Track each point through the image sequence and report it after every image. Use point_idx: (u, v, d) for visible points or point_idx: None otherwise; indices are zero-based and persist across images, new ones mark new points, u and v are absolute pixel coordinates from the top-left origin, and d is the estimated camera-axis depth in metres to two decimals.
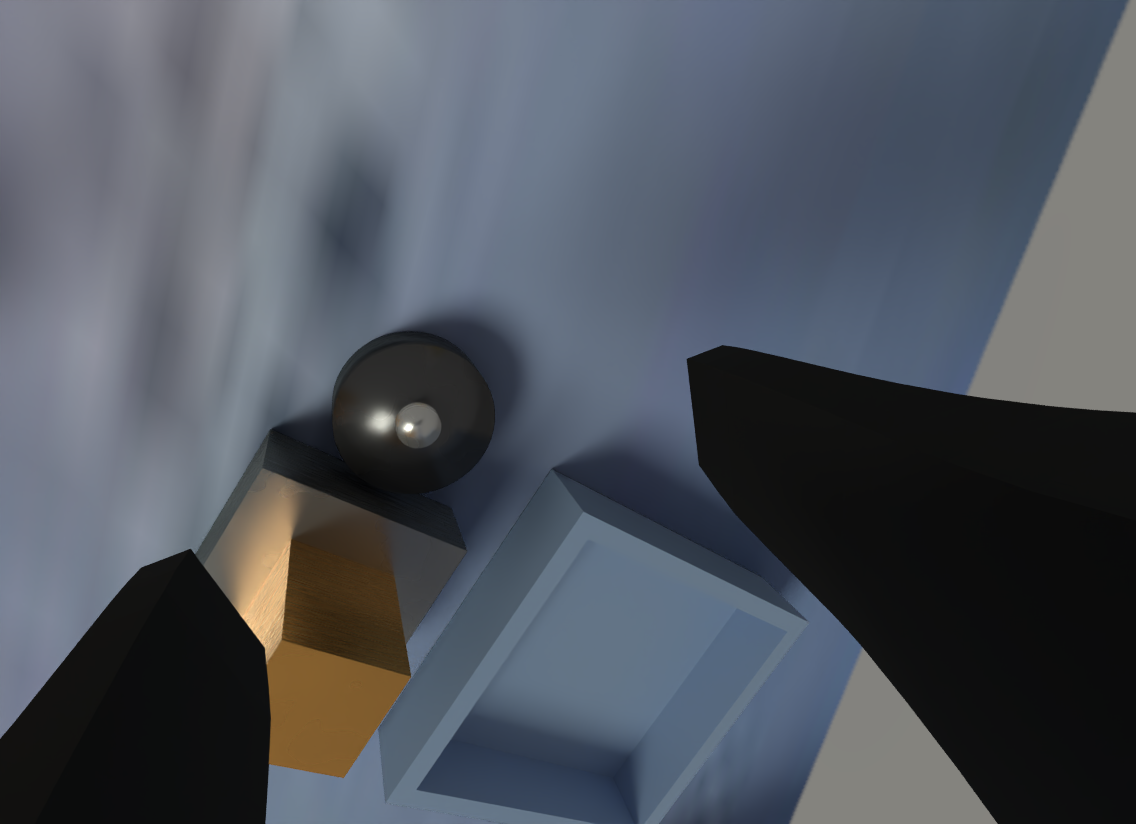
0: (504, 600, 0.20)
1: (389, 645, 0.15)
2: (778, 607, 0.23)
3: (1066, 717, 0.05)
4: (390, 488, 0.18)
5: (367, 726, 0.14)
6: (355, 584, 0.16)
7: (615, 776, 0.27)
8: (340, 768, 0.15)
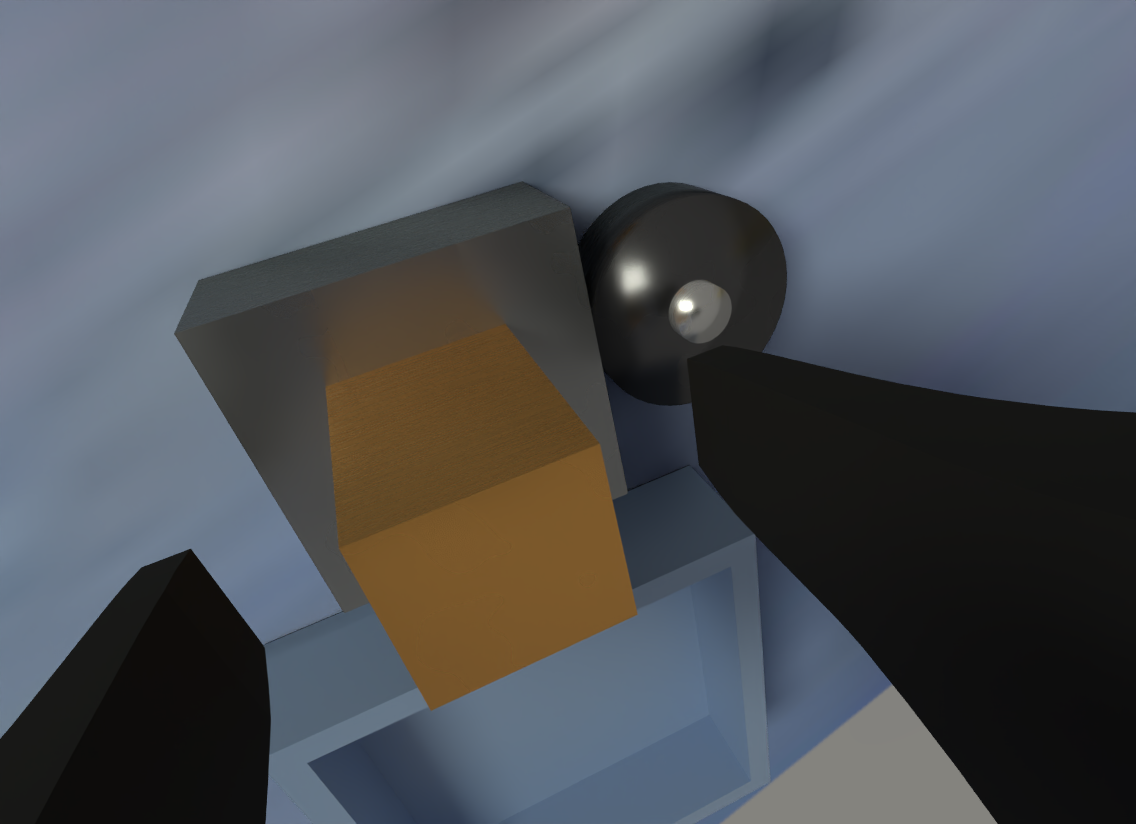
0: None
1: None
2: (767, 750, 0.20)
3: (1067, 717, 0.05)
4: (606, 358, 0.13)
5: (530, 651, 0.08)
6: None
7: None
8: (443, 693, 0.08)
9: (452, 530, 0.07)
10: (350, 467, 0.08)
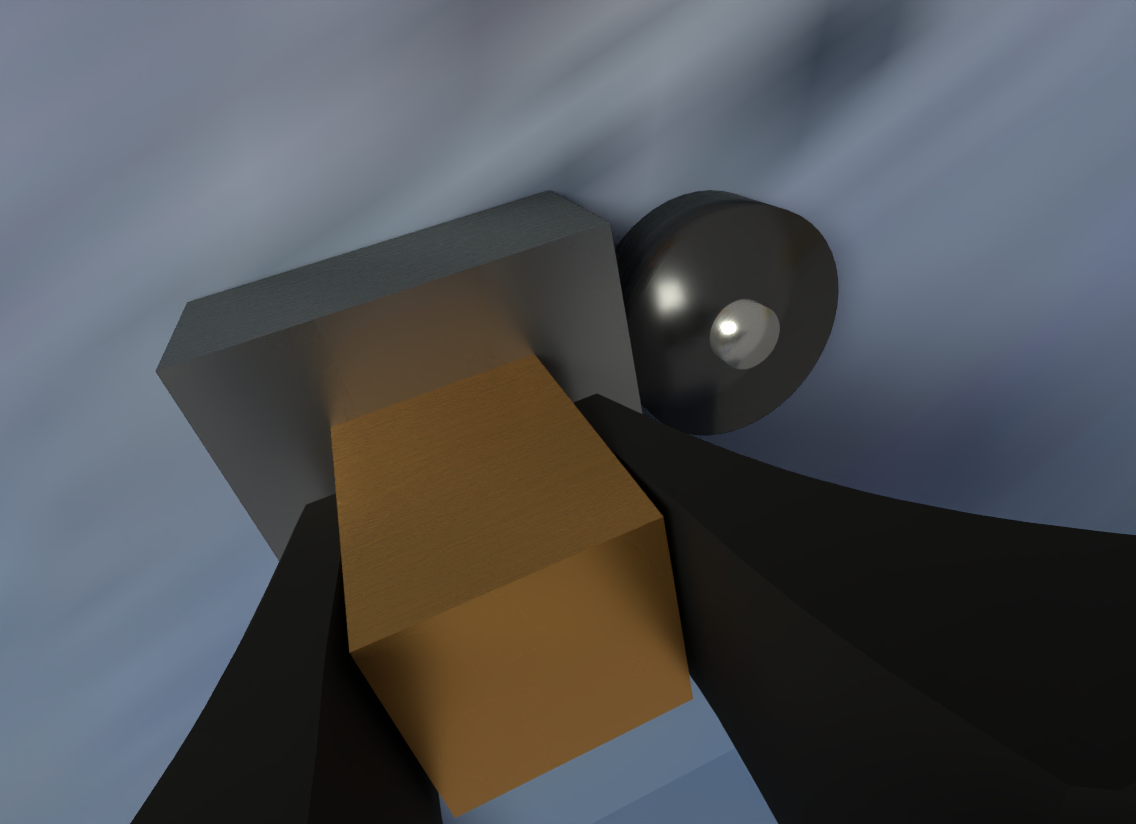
0: None
1: None
2: None
3: None
4: (640, 386, 0.11)
5: (571, 746, 0.07)
6: None
7: None
8: (470, 798, 0.07)
9: (485, 623, 0.06)
10: (361, 536, 0.07)
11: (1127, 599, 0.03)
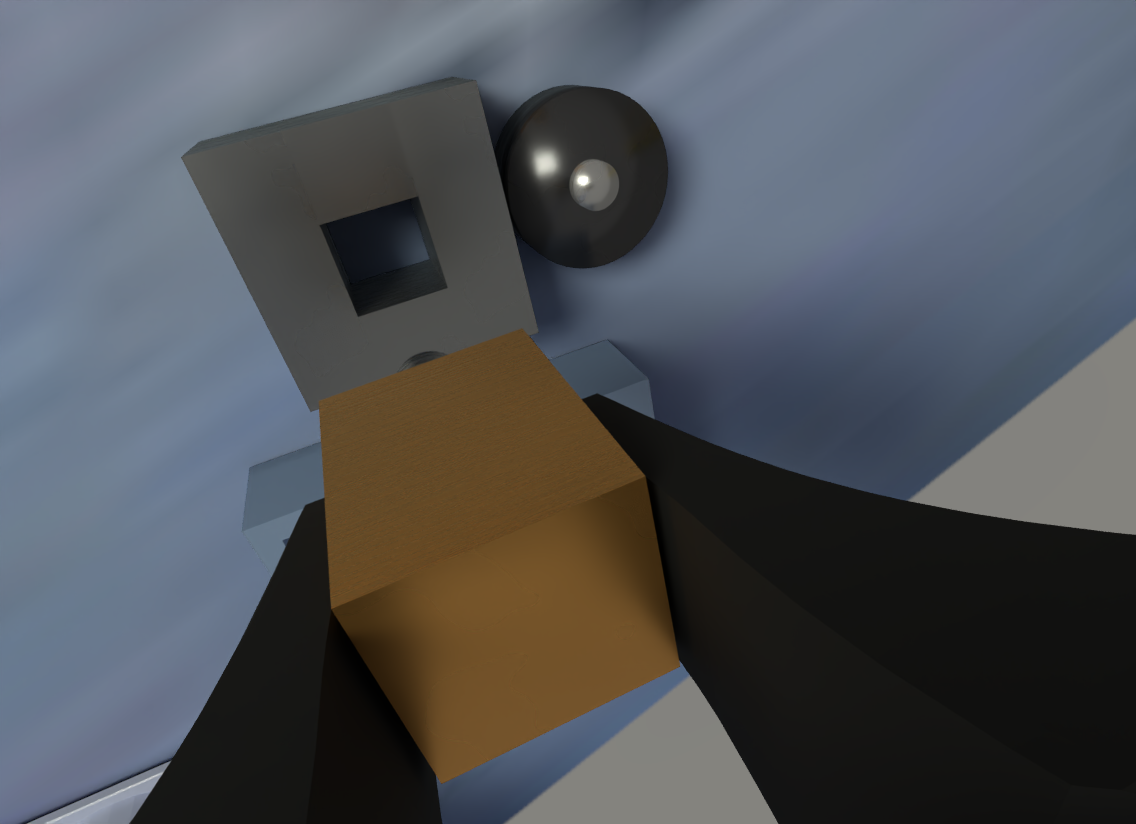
0: None
1: None
2: None
3: None
4: (519, 220, 0.16)
5: (557, 712, 0.07)
6: None
7: None
8: (457, 763, 0.07)
9: (469, 583, 0.06)
10: (346, 501, 0.07)
11: (1129, 599, 0.03)
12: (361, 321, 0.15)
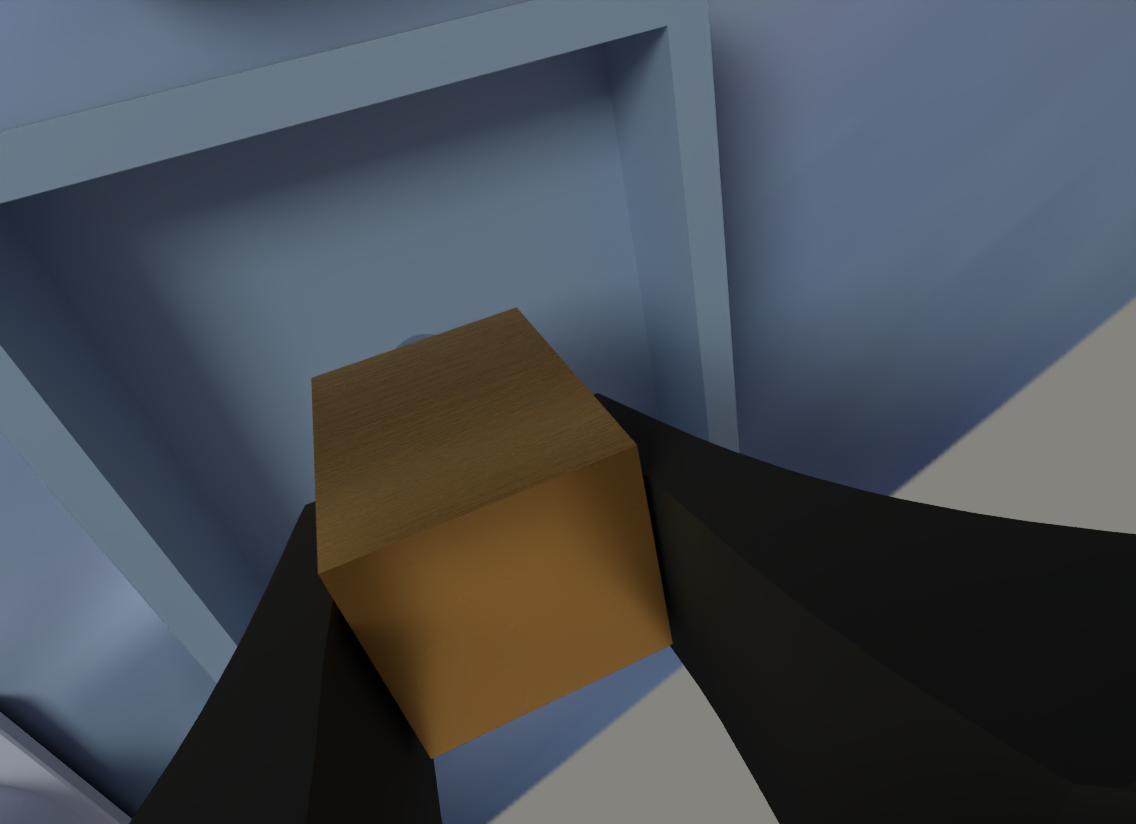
0: None
1: None
2: None
3: None
4: None
5: (548, 688, 0.07)
6: None
7: None
8: (446, 739, 0.07)
9: (457, 549, 0.06)
10: (335, 472, 0.07)
11: (1127, 596, 0.03)
12: None
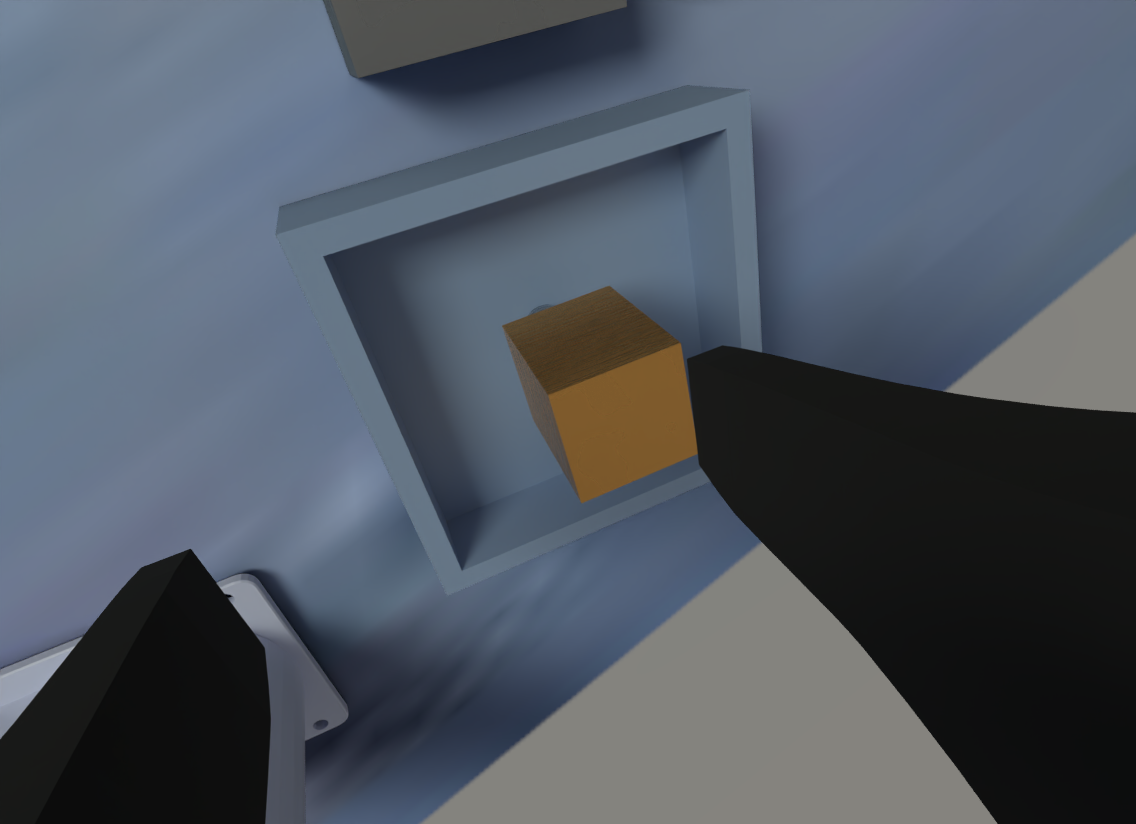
0: (586, 132, 0.15)
1: None
2: None
3: (1066, 717, 0.05)
4: None
5: (637, 471, 0.14)
6: None
7: (450, 520, 0.21)
8: (589, 492, 0.14)
9: (602, 389, 0.13)
10: (538, 362, 0.14)
11: None
12: None
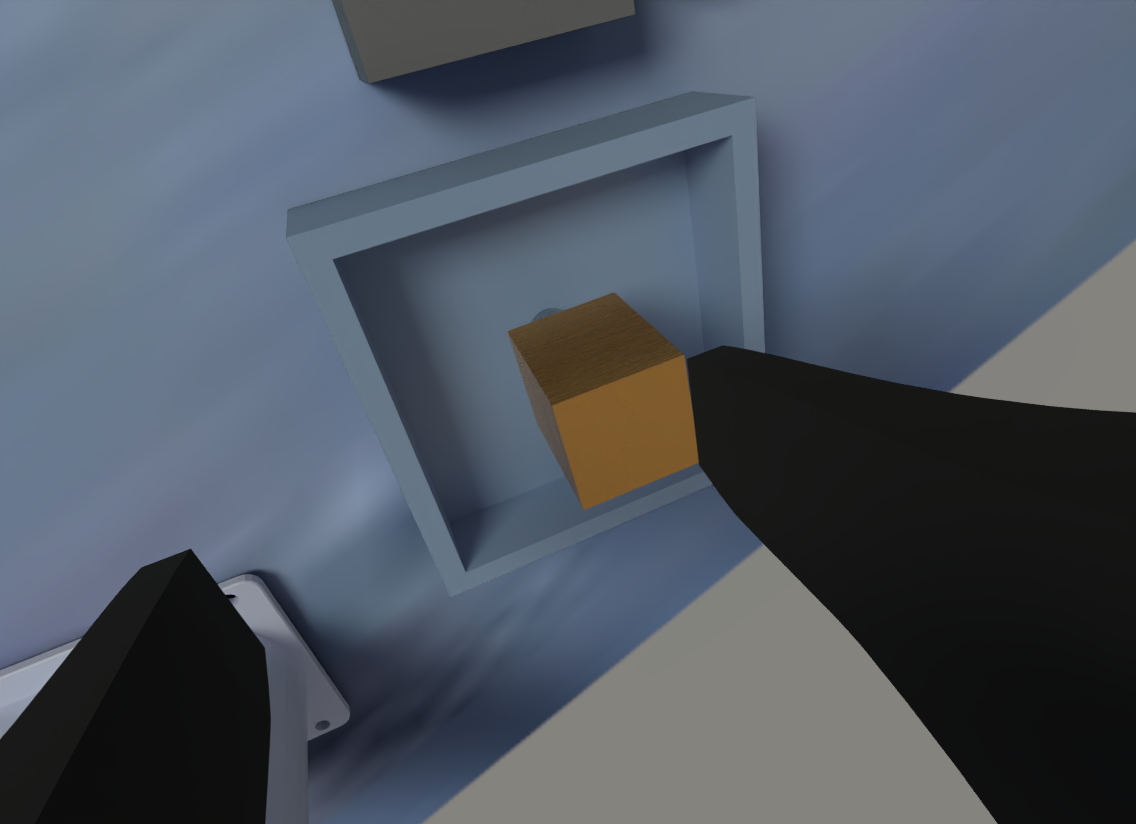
0: (593, 137, 0.15)
1: None
2: None
3: (1066, 717, 0.05)
4: None
5: (639, 479, 0.15)
6: None
7: (453, 522, 0.21)
8: (591, 499, 0.14)
9: (606, 400, 0.13)
10: (542, 371, 0.14)
11: None
12: None
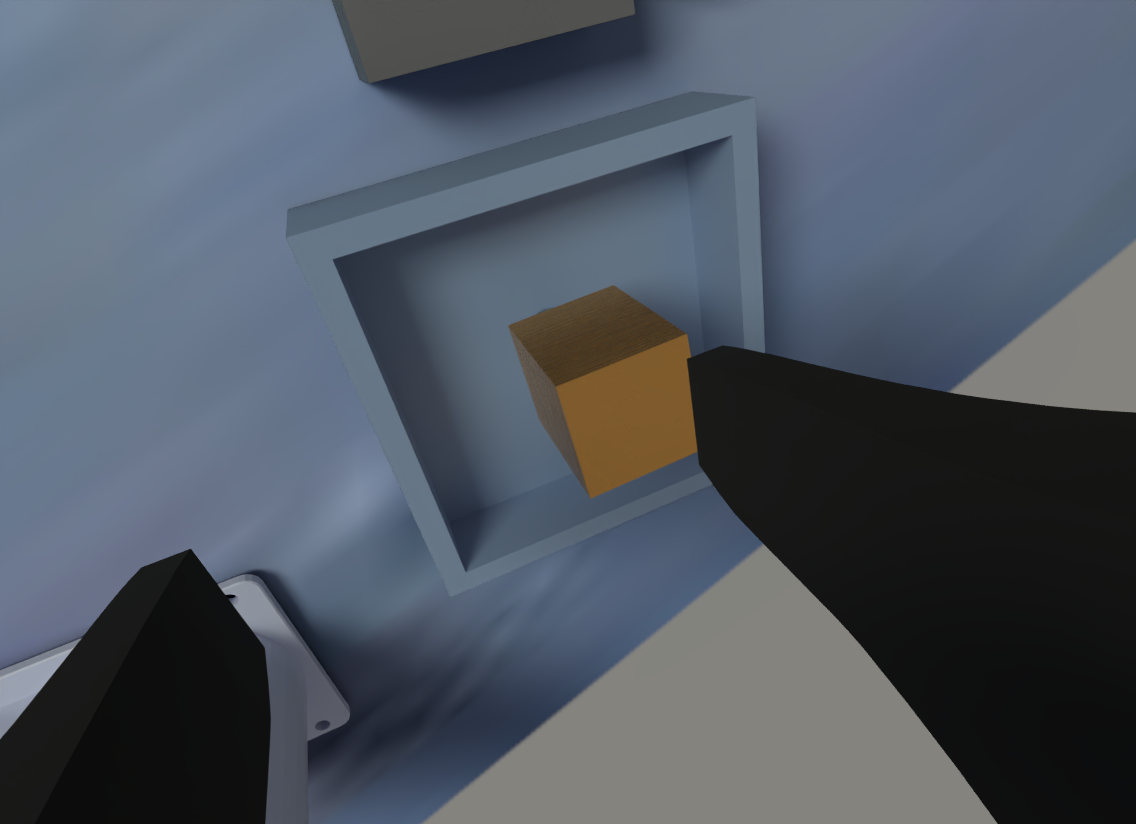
0: (593, 137, 0.15)
1: None
2: None
3: (1066, 717, 0.05)
4: None
5: (645, 465, 0.14)
6: None
7: (453, 522, 0.21)
8: (598, 487, 0.14)
9: (610, 381, 0.13)
10: (544, 357, 0.14)
11: None
12: None
